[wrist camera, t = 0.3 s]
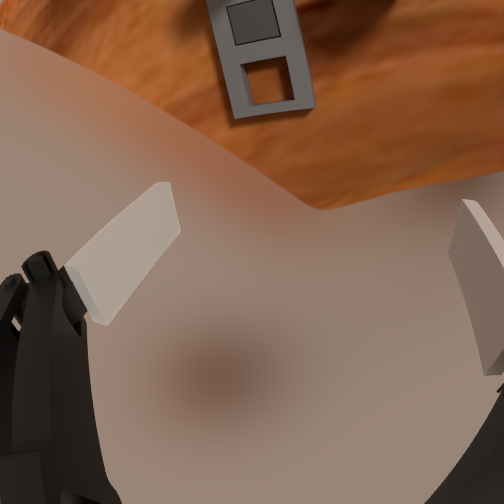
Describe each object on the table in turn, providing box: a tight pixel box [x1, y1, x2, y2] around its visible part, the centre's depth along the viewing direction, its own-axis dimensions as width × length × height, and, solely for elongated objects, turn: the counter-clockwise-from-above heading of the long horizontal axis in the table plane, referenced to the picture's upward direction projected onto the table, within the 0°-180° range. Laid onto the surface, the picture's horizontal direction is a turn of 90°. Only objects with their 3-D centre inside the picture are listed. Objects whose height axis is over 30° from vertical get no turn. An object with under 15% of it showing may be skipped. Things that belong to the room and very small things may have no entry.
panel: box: [206, 0, 316, 119], centre depth 28 cm, size 24×10×2 cm, turn 12°
